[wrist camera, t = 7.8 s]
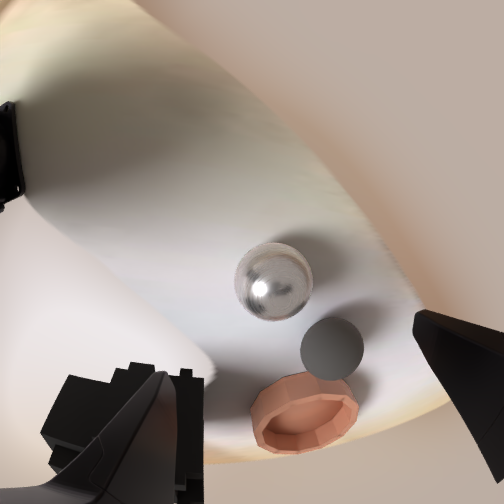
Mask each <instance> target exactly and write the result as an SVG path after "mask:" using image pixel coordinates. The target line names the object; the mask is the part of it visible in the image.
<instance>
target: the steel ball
mask: <svg viewBox="0 0 504 504" xmlns="http://www.w3.org/2000/svg"><path fill="white" fill-rule="evenodd" d="M234 286H235V291H236V295H237V297H238V300H239V301H240V303H241V305H242V306H243V307H244V308H245V309H246V310H247V311H248V312H249V313H250V314H252V315H253V316H255V317H257V318H259V319H262V320H266V321H281V320H285V319H288V318H290V317H292V316H294V315H295V314H297V313H298V312H299V311H301V310H302V309H303V307H304V306H305V305H306V304H307V302H308V300H309V298H310V296H311V293H312V289H313V275H312V271H311V268H310V265H309V263H308V262H307V260H306V259H305V257H304V256H303V255H302V254H301V253H300V252H299V251H298V250H296V249H295V248H293V247H291V246H289V245H286V244H282V243H265V244H262V245H259V246H257V247H255V248H253V249H252V250H250V251H249V252H248V253H247V254H246V255H245V256H244V257H243V258H242V259H241V261H240V263H239V265H238V267H237V269H236V273H235V278H234Z"/></svg>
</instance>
